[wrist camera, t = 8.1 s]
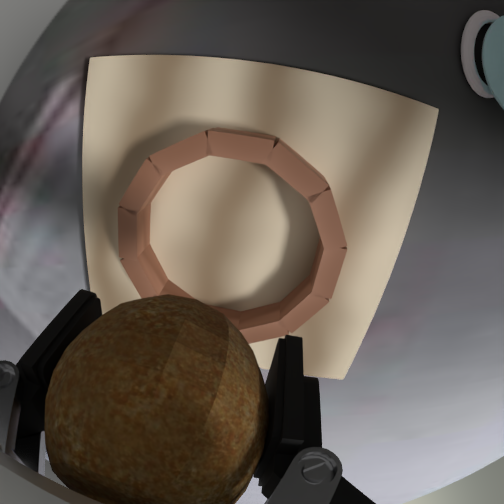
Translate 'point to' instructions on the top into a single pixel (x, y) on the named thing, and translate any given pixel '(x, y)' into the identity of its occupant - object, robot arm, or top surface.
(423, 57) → the top surface
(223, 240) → the ring board
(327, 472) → the robot arm
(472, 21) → the pacifier
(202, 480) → the fruit
